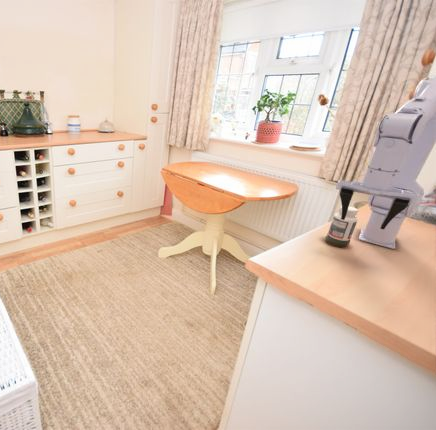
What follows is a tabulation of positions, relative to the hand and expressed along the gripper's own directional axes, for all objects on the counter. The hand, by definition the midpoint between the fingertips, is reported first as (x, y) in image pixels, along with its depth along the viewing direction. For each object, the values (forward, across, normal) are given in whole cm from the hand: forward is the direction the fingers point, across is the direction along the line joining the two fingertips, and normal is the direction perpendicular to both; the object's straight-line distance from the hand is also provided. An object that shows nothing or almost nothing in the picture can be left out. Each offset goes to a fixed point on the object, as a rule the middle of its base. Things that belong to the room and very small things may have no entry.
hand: (362, 223), depth 71 cm
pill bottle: (+9, -4, +9) cm, 13 cm away
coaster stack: (+10, -4, +9) cm, 14 cm away
